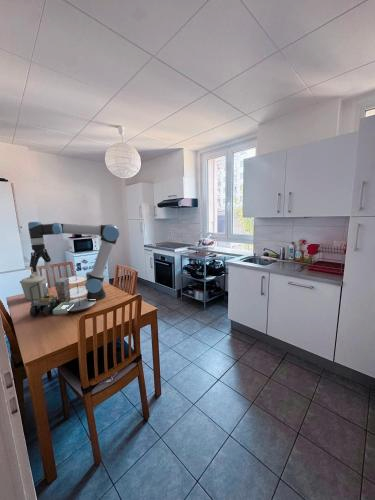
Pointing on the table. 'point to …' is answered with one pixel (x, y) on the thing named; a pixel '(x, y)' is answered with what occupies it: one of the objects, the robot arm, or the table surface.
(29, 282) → the canister
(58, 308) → the tray
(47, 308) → the trolley
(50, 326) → the table surface
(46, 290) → the pin
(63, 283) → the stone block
